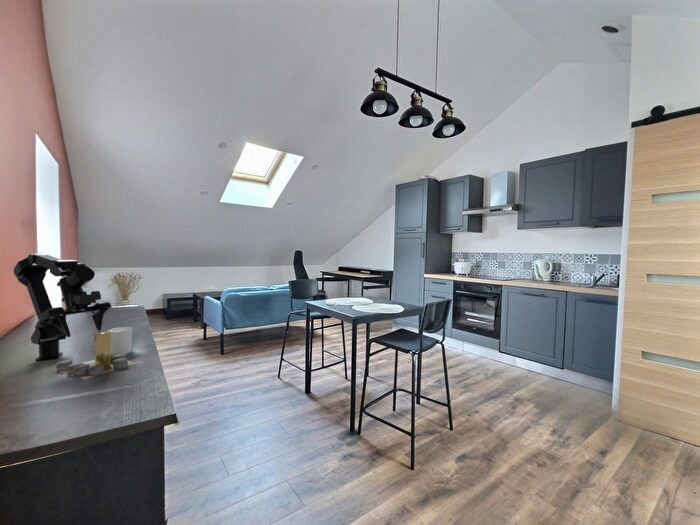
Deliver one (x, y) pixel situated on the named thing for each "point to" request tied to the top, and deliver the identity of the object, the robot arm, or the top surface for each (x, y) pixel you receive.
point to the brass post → (103, 349)
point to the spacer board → (92, 367)
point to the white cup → (121, 340)
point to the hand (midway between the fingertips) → (85, 333)
